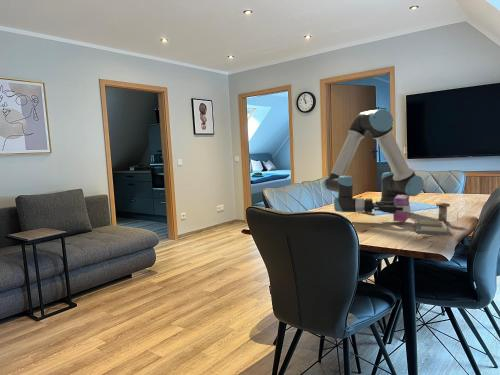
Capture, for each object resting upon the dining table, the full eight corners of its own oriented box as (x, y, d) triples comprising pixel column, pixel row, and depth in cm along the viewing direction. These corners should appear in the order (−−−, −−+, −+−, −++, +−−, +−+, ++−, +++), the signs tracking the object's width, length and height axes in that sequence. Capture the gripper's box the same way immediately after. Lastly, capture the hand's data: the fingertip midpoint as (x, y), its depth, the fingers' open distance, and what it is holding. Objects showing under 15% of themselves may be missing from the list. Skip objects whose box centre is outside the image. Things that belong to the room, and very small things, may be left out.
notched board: (416, 233, 166) (416, 227, 166) (414, 225, 182) (414, 219, 181) (451, 235, 161) (451, 229, 161) (446, 226, 177) (446, 221, 176)
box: (405, 222, 181) (405, 198, 180) (393, 221, 184) (393, 197, 183) (408, 217, 190) (409, 195, 188) (397, 217, 193) (397, 194, 191)
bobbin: (436, 224, 181) (436, 204, 180) (435, 222, 187) (435, 202, 186) (449, 225, 179) (450, 205, 178) (448, 222, 185) (449, 203, 183)
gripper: (366, 208, 204) (408, 209, 196) (362, 217, 182) (410, 218, 174) (366, 195, 203) (409, 195, 195) (362, 202, 181) (410, 203, 173)
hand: (409, 206), depth 185 cm, fingers closed on box, 11 cm apart
